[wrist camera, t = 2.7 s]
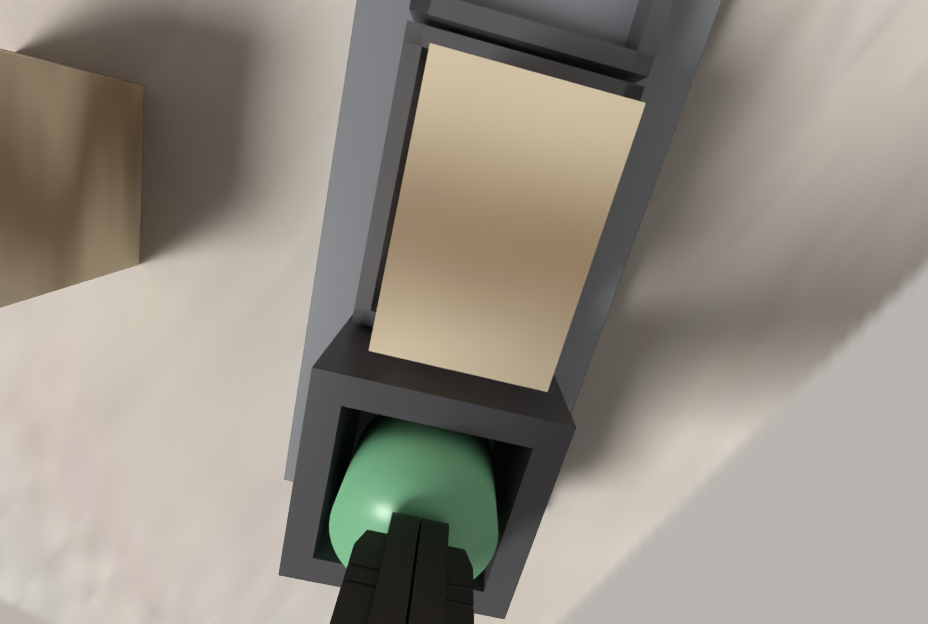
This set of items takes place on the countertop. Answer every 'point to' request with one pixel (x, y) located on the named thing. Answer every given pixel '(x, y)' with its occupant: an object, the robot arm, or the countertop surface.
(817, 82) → the countertop surface
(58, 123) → the loose billet
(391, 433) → the button
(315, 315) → the grey compartment tray
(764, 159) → the countertop surface
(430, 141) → the block
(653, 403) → the countertop surface
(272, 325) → the countertop surface
